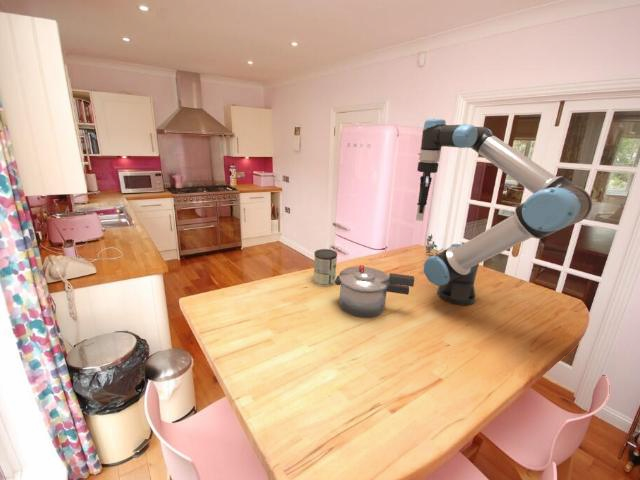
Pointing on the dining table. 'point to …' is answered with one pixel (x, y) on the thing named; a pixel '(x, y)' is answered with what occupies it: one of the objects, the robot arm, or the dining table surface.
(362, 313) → the pot
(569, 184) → the robot arm
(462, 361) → the dining table surface
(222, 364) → the dining table surface
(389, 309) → the dining table surface
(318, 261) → the coffee can
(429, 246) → the flower vase
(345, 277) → the lid
